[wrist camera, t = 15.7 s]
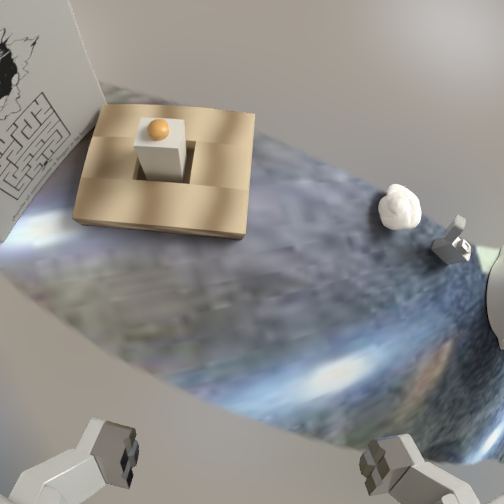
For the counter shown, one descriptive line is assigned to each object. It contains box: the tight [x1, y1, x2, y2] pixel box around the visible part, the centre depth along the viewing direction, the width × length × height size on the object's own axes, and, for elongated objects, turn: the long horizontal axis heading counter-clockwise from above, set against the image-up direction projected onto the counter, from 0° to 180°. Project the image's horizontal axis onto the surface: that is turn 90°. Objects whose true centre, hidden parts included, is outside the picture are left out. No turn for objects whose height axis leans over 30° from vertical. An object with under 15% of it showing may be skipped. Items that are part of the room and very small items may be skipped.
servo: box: [133, 117, 187, 183], centre depth 27 cm, size 4×3×9 cm
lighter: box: [431, 215, 471, 265], centre depth 33 cm, size 7×2×8 cm, turn 58°
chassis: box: [72, 104, 255, 240], centre depth 31 cm, size 18×14×3 cm
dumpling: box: [378, 184, 421, 230], centre depth 34 cm, size 7×5×4 cm
